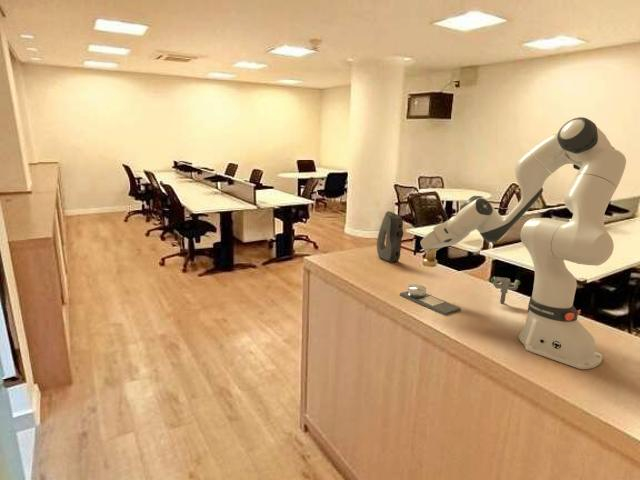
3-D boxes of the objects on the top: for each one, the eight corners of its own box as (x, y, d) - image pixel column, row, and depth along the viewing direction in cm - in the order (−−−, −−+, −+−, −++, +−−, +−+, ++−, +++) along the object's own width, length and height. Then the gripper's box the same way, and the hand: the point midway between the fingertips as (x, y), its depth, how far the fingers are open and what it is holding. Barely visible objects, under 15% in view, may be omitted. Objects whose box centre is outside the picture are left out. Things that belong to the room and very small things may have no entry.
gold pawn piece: (439, 265, 164) (442, 243, 162) (430, 267, 161) (433, 245, 159) (428, 261, 168) (431, 240, 166) (419, 263, 165) (421, 242, 163)
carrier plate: (460, 310, 152) (461, 300, 151) (445, 315, 147) (446, 305, 146) (415, 291, 169) (416, 282, 169) (399, 295, 164) (400, 285, 163)
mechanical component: (516, 306, 159) (521, 281, 156) (489, 302, 161) (492, 278, 158) (515, 303, 162) (519, 279, 159) (487, 300, 164) (491, 276, 161)
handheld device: (392, 264, 206) (397, 214, 200) (371, 256, 218) (375, 209, 212) (401, 262, 209) (405, 214, 203) (380, 254, 221) (383, 209, 215)
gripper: (466, 222, 161) (442, 240, 171) (432, 226, 149) (409, 246, 159) (474, 235, 158) (450, 253, 168) (440, 241, 147) (416, 260, 156)
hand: (430, 250), depth 164 cm, fingers closed on gold pawn piece, 4 cm apart
